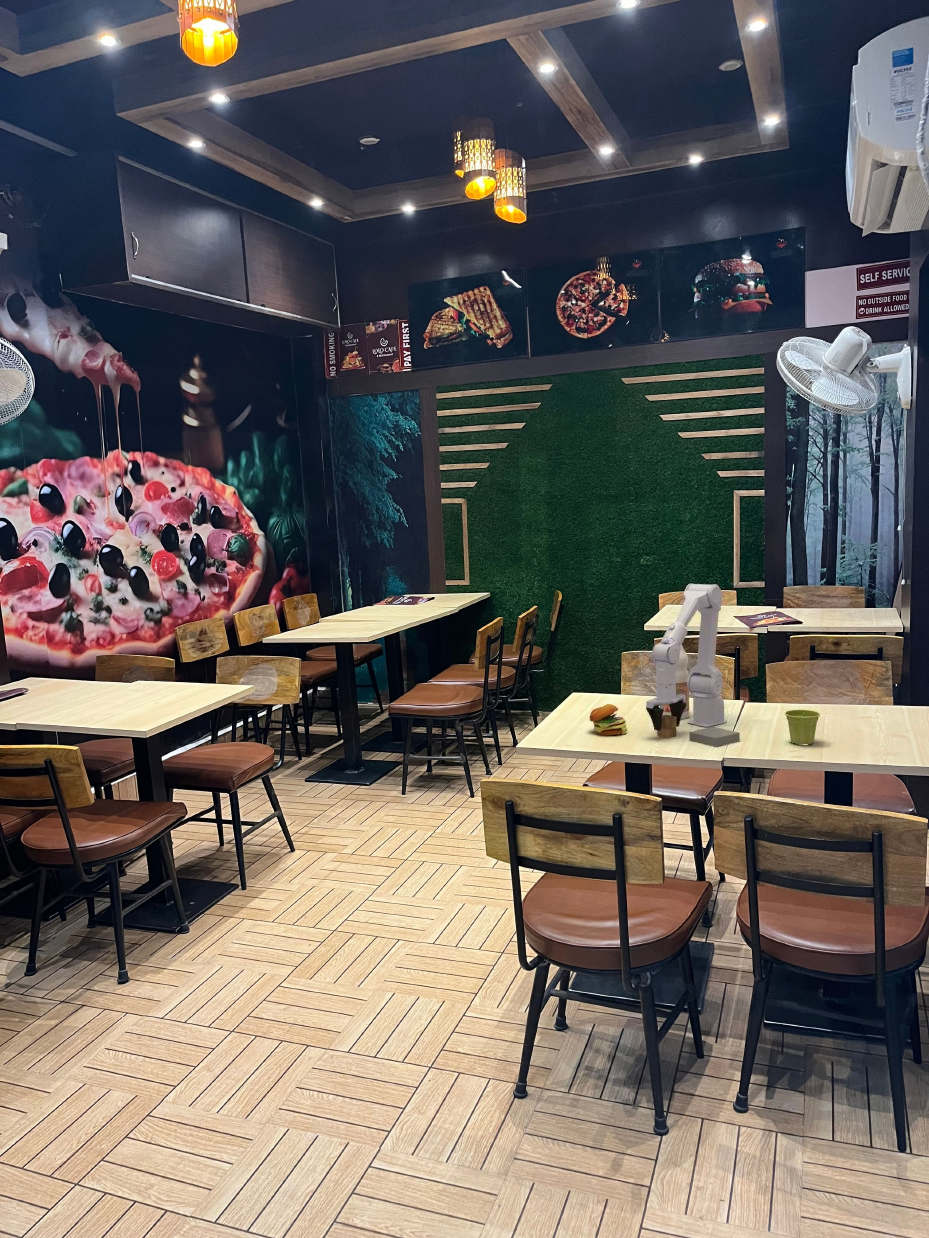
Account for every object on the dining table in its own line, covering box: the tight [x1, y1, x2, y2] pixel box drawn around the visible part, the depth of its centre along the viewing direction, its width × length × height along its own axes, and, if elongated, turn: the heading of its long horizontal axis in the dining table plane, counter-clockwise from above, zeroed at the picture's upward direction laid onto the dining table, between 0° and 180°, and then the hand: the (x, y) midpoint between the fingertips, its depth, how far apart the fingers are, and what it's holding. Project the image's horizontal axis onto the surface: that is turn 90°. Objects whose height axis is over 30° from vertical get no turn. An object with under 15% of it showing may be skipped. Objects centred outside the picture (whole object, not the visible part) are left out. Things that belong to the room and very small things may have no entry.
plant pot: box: [784, 709, 821, 745], centre depth 254 cm, size 9×9×9 cm
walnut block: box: [656, 715, 678, 740], centre depth 268 cm, size 4×4×6 cm
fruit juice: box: [659, 643, 690, 720], centre depth 291 cm, size 9×9×28 cm
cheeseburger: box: [589, 703, 628, 737], centre depth 275 cm, size 10×11×10 cm
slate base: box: [688, 726, 741, 748], centre depth 261 cm, size 10×10×3 cm
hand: (666, 728), depth 268 cm, fingers open, 7 cm apart
